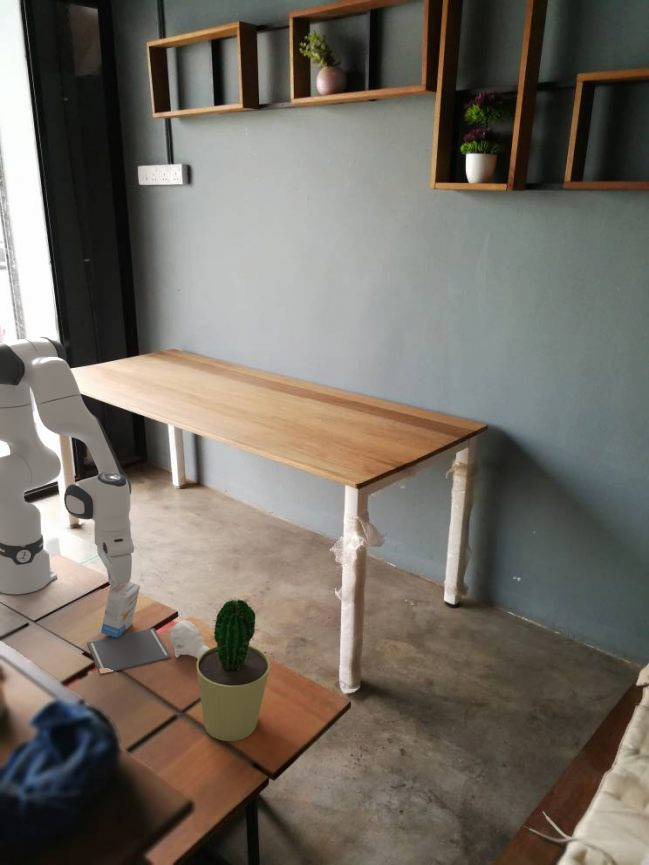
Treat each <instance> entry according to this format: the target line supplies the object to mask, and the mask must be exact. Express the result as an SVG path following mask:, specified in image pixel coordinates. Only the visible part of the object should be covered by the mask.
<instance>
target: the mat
mask: <svg viewBox="0 0 649 865" xmlns="http://www.w3.org/2000/svg"><path fill="white" fill-rule="evenodd" d="M86 645H87V646H88V650H89V652H90V653H91V656H92V658H93V661H94V663H95V665H96V668H97V670H98V671H99V669H100V668H109V669H111V670H113V671H114V672H119V671H122V670H127V669H131V668H135V667H138V666H143V665H148V664H152V663H155V662H160V661H164V660H168V659H172V656H171V654H170V652H169V650H168V649H167V647H166V646H165V644H164V643H163V640H161V637H160V635H159V634H158V632H157V630H156V629H155V627H151V628H148V629H143V630H138V631H132V632H129V633H124V634H121V635H120V636H119V637H118V638H115V637H112V636H109V637H106V638H102V639H96V640H93V641H88V642H87V643H86ZM114 672H113V673H114Z"/></svg>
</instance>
